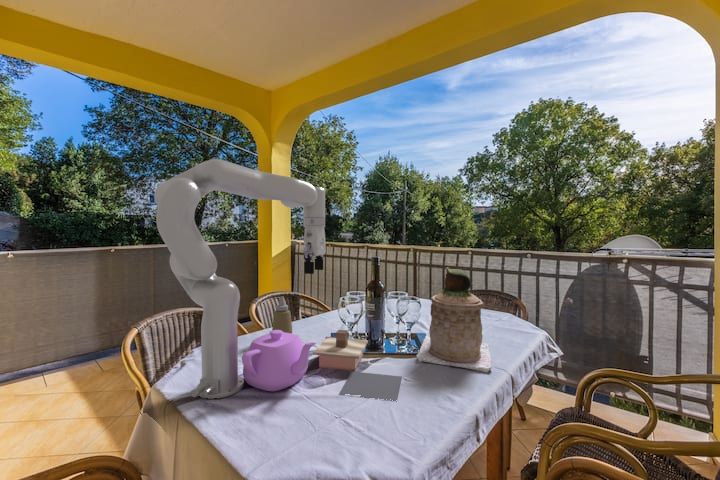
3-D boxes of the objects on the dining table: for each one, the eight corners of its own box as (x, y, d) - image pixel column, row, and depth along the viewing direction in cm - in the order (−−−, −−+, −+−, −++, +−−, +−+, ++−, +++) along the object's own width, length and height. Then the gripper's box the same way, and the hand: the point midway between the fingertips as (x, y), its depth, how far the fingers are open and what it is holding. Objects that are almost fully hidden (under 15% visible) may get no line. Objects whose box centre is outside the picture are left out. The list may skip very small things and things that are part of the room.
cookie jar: (492, 374, 106) (495, 273, 105) (415, 363, 114) (416, 269, 112) (489, 347, 130) (491, 264, 128) (424, 340, 137) (426, 262, 136)
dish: (355, 372, 107) (355, 356, 107) (319, 368, 110) (319, 353, 109) (362, 357, 119) (363, 343, 118) (330, 354, 121) (330, 340, 121)
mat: (396, 403, 89) (396, 401, 89) (338, 396, 92) (338, 394, 92) (402, 377, 103) (402, 376, 103) (351, 372, 107) (351, 371, 107)
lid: (358, 359, 105) (358, 340, 105) (313, 354, 108) (313, 336, 108) (367, 342, 120) (368, 326, 119) (327, 339, 123) (327, 323, 123)
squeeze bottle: (290, 344, 131) (289, 298, 130) (269, 344, 131) (269, 298, 130) (294, 337, 139) (294, 294, 138) (275, 337, 139) (274, 294, 138)
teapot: (223, 391, 94) (222, 338, 94) (276, 364, 113) (276, 320, 112) (284, 414, 83) (284, 354, 82) (332, 380, 101) (332, 331, 101)
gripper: (315, 222, 108) (315, 275, 109) (332, 223, 125) (331, 268, 126) (294, 222, 110) (294, 274, 110) (312, 222, 126) (312, 268, 127)
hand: (314, 271), depth 118 cm, fingers open, 9 cm apart
